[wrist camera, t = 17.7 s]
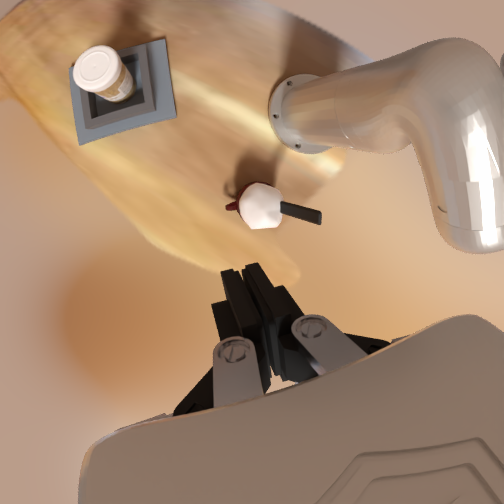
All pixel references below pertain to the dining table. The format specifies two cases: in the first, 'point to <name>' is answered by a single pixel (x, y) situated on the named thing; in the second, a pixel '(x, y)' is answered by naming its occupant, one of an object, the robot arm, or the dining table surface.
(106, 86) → the sprinkles bottle
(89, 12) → the dining table surface
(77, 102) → the bottle stand
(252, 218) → the cocoa
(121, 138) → the dining table surface
